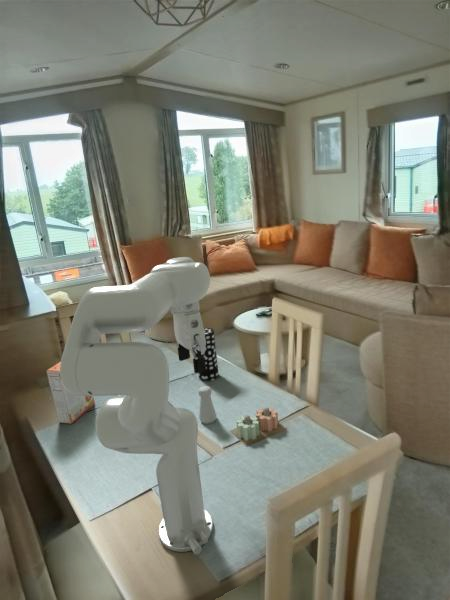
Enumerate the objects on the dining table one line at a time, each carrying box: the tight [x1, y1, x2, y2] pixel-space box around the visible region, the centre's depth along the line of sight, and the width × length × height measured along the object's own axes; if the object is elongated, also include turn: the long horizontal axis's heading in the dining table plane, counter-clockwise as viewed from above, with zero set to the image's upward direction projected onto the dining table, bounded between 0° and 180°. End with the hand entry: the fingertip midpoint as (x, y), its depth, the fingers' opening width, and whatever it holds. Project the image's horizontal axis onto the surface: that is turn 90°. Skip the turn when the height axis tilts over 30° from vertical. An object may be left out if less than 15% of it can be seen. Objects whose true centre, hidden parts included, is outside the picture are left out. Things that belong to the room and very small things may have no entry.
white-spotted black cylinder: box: [194, 327, 220, 382], centre depth 169 cm, size 8×8×20 cm
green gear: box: [235, 414, 260, 441], centre depth 128 cm, size 7×7×4 cm
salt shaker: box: [197, 385, 217, 425], centre depth 137 cm, size 6×6×13 cm
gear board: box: [229, 407, 287, 447], centre depth 130 cm, size 10×15×7 cm, turn 120°
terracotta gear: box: [255, 407, 279, 432], centre depth 132 cm, size 7×7×4 cm
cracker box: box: [46, 361, 96, 425], centre depth 150 cm, size 14×6×21 cm, turn 161°
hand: (192, 365), depth 112 cm, fingers open, 9 cm apart
